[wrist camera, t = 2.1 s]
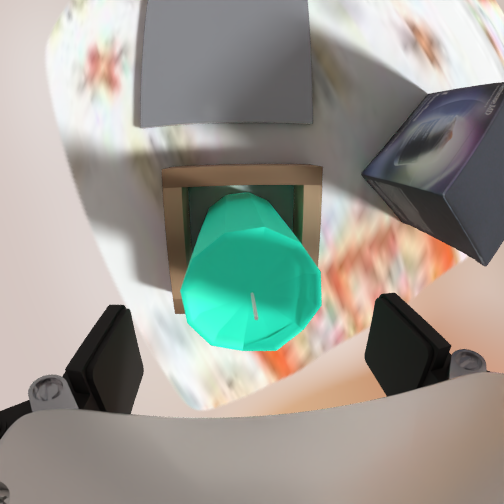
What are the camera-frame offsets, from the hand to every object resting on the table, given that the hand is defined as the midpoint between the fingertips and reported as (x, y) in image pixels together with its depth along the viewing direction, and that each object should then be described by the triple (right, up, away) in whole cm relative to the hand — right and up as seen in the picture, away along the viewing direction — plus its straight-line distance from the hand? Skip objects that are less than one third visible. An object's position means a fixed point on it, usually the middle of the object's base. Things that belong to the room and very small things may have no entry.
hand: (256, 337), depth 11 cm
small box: (+14, +11, +11) cm, 21 cm away
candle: (-1, +5, +12) cm, 13 cm away
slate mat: (-2, +18, +7) cm, 19 cm away
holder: (-1, +5, +11) cm, 12 cm away
